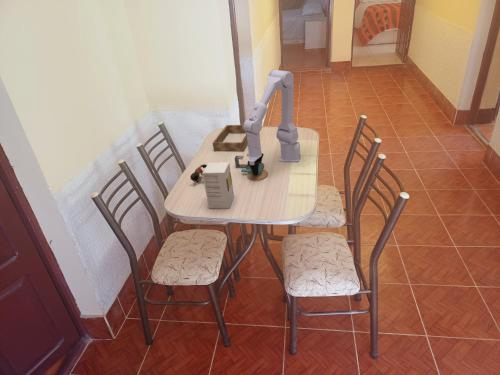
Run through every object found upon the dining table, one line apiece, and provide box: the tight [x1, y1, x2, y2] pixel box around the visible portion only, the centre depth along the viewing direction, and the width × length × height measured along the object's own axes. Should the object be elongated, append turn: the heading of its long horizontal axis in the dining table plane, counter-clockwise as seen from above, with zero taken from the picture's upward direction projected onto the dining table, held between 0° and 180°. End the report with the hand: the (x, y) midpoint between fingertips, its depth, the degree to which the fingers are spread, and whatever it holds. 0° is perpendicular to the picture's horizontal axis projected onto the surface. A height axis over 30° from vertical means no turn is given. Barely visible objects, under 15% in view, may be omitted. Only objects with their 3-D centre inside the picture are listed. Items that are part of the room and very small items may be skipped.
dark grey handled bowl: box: [234, 155, 265, 170], centre depth 174 cm, size 14×9×6 cm, turn 76°
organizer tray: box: [212, 124, 248, 153], centre depth 203 cm, size 17×26×5 cm, turn 166°
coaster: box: [246, 168, 269, 182], centre depth 168 cm, size 10×10×1 cm
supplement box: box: [201, 161, 235, 209], centre depth 146 cm, size 10×9×17 cm
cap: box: [240, 162, 262, 175], centre depth 167 cm, size 10×5×4 cm, turn 70°
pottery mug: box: [190, 163, 207, 183], centre depth 167 cm, size 12×10×8 cm
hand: (257, 171), depth 167 cm, fingers closed on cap, 5 cm apart
